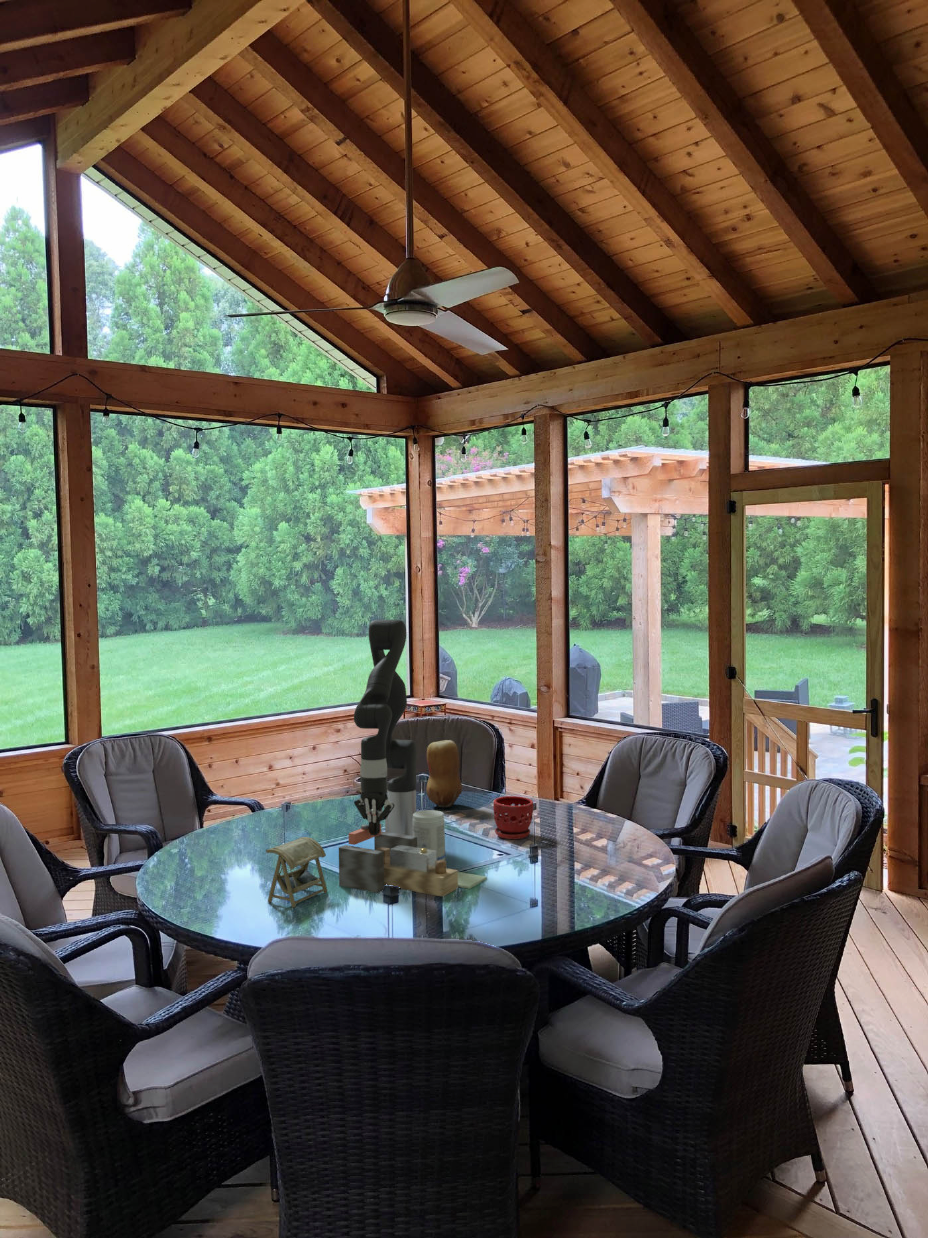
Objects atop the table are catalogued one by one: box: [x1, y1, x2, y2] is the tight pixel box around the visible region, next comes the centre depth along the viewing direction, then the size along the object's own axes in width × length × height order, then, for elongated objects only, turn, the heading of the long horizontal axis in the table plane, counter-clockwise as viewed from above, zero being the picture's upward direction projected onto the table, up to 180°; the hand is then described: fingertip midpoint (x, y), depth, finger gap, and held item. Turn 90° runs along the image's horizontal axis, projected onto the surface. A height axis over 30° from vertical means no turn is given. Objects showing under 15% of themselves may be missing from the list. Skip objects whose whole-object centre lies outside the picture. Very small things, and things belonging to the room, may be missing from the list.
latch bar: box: [348, 823, 382, 846], centre depth 273 cm, size 2×13×4 cm, turn 150°
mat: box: [458, 871, 488, 890], centre depth 269 cm, size 10×10×1 cm
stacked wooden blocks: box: [338, 830, 459, 897], centre depth 267 cm, size 30×20×11 cm, turn 60°
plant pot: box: [492, 795, 534, 840], centre depth 316 cm, size 13×13×12 cm
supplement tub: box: [413, 809, 446, 861], centre depth 287 cm, size 10×10×15 cm
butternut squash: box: [426, 739, 463, 808], centre depth 357 cm, size 14×13×25 cm
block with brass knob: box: [390, 845, 436, 873], centre depth 265 cm, size 12×5×6 cm, turn 60°
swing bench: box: [265, 836, 328, 908], centre depth 256 cm, size 15×10×15 cm, turn 152°
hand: (374, 834), depth 272 cm, fingers closed
